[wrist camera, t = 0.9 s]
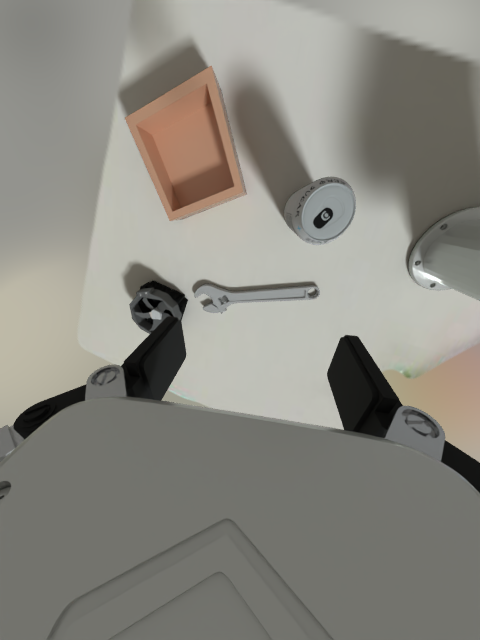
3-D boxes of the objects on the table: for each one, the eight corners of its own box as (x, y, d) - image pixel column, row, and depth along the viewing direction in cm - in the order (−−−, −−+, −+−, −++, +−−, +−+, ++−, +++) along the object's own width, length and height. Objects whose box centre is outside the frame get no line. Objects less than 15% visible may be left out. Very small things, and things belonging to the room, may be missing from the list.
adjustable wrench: (319, 283, 37) (321, 286, 35) (314, 312, 40) (315, 316, 38) (196, 283, 40) (193, 285, 38) (200, 309, 43) (198, 313, 42)
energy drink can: (330, 209, 30) (377, 210, 17) (300, 239, 33) (320, 260, 20) (305, 178, 28) (336, 155, 16) (276, 213, 31) (281, 217, 18)
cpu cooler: (170, 343, 42) (126, 324, 40) (180, 329, 46) (141, 312, 45) (182, 306, 36) (131, 284, 35) (192, 295, 41) (148, 274, 40)
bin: (221, 89, 25) (211, 65, 20) (246, 194, 30) (243, 192, 26) (146, 131, 28) (124, 118, 24) (182, 219, 33) (169, 221, 29)
